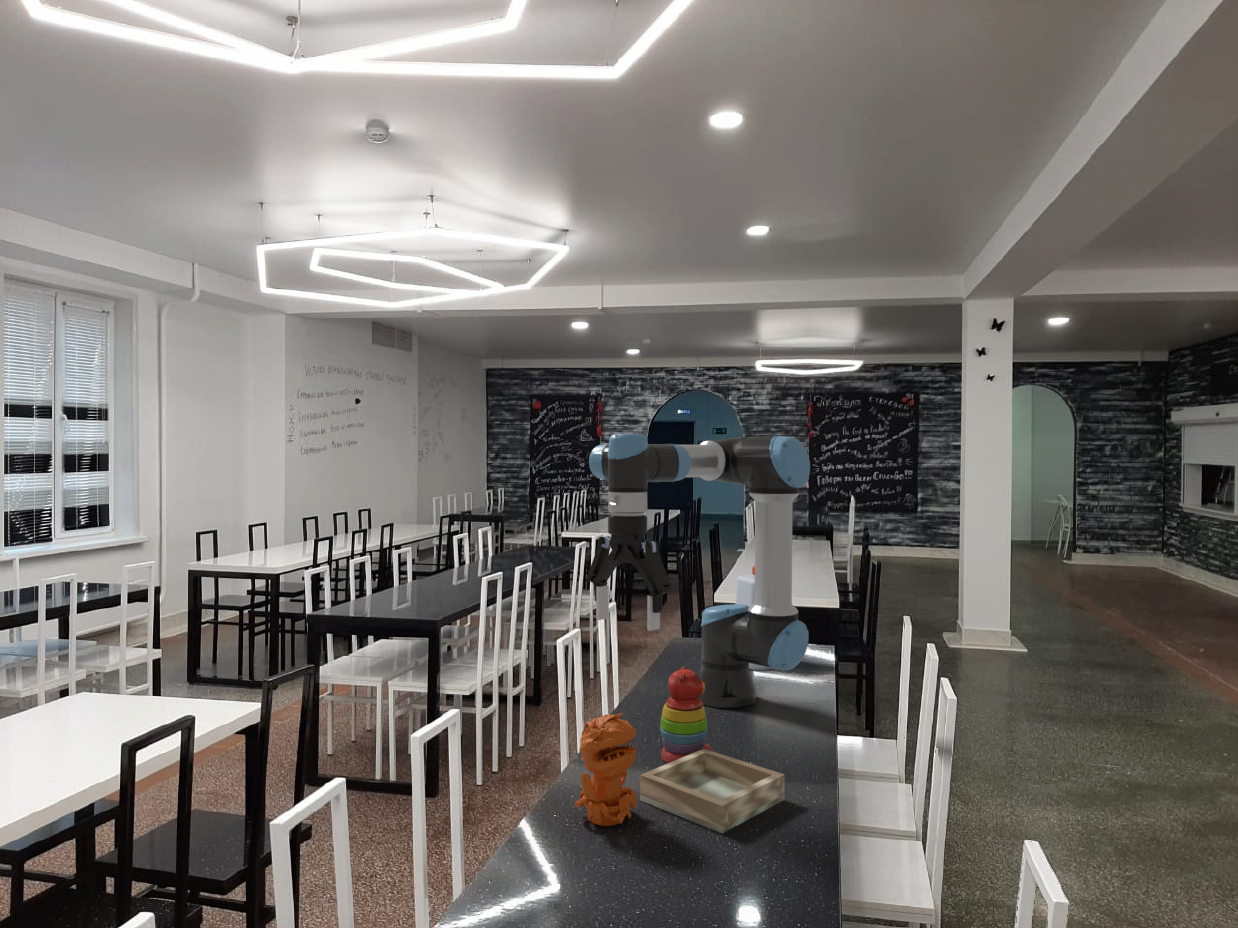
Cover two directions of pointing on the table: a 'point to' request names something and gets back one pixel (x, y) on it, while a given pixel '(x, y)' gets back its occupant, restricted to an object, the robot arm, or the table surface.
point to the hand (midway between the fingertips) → (627, 624)
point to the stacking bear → (683, 717)
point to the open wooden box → (712, 789)
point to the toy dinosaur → (607, 769)
